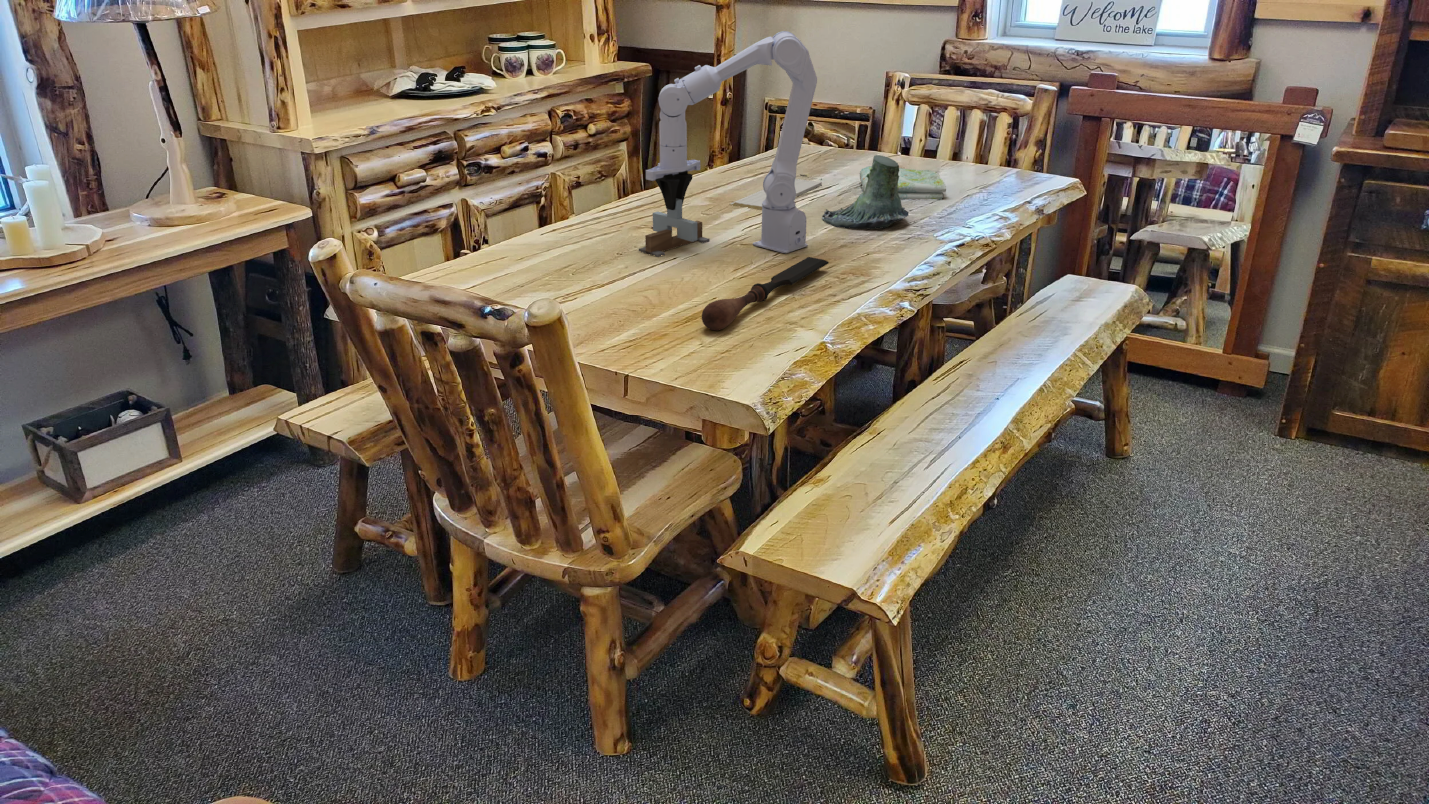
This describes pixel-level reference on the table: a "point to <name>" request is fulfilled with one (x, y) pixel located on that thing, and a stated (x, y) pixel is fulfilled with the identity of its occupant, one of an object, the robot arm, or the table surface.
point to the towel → (914, 183)
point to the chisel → (756, 294)
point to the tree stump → (873, 200)
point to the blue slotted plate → (675, 223)
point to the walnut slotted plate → (668, 241)
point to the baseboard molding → (758, 197)
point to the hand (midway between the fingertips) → (674, 208)
